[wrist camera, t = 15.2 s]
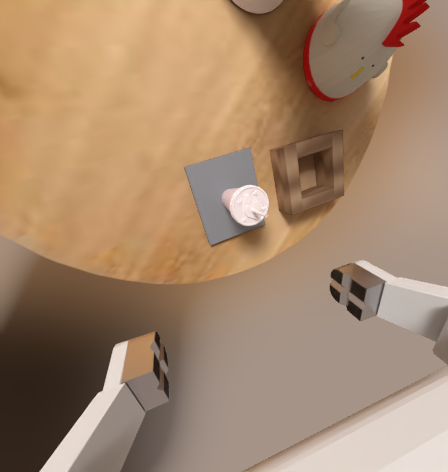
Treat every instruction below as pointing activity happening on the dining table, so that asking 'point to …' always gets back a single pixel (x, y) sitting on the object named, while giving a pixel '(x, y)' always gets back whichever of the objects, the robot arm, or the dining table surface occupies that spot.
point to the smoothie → (246, 204)
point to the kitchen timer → (355, 43)
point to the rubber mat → (221, 192)
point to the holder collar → (327, 172)
